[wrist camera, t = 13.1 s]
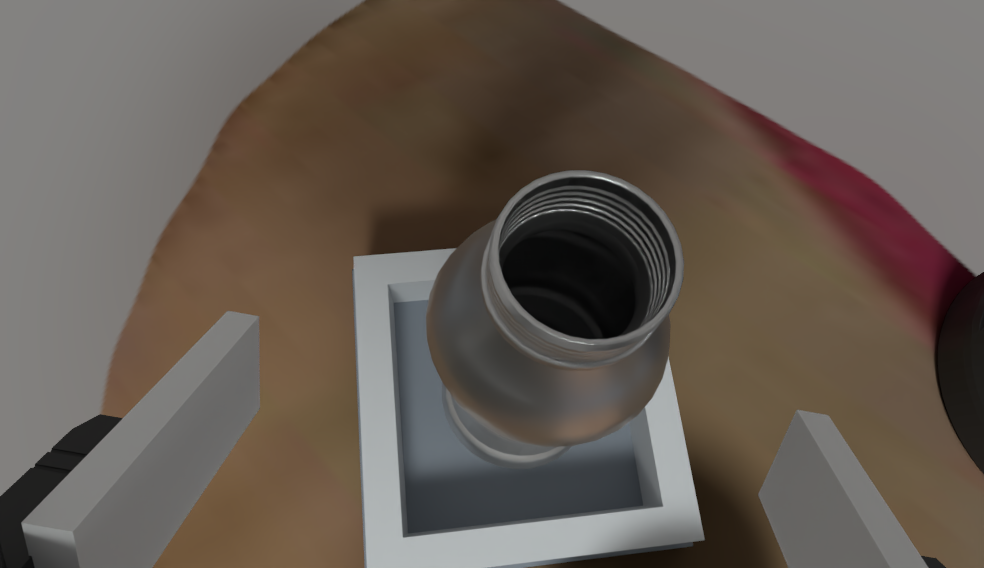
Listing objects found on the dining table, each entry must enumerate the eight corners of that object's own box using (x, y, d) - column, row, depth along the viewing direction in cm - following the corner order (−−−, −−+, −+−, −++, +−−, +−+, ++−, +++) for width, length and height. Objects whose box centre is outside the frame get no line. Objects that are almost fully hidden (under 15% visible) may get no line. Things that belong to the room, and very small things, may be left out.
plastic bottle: (547, 495, 29) (701, 501, 10) (418, 431, 30) (344, 327, 11) (600, 372, 31) (809, 189, 12) (477, 314, 32) (499, 56, 13)
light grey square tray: (630, 252, 35) (651, 222, 31) (686, 544, 30) (719, 551, 26) (355, 275, 33) (342, 247, 30) (368, 584, 29) (355, 597, 25)
